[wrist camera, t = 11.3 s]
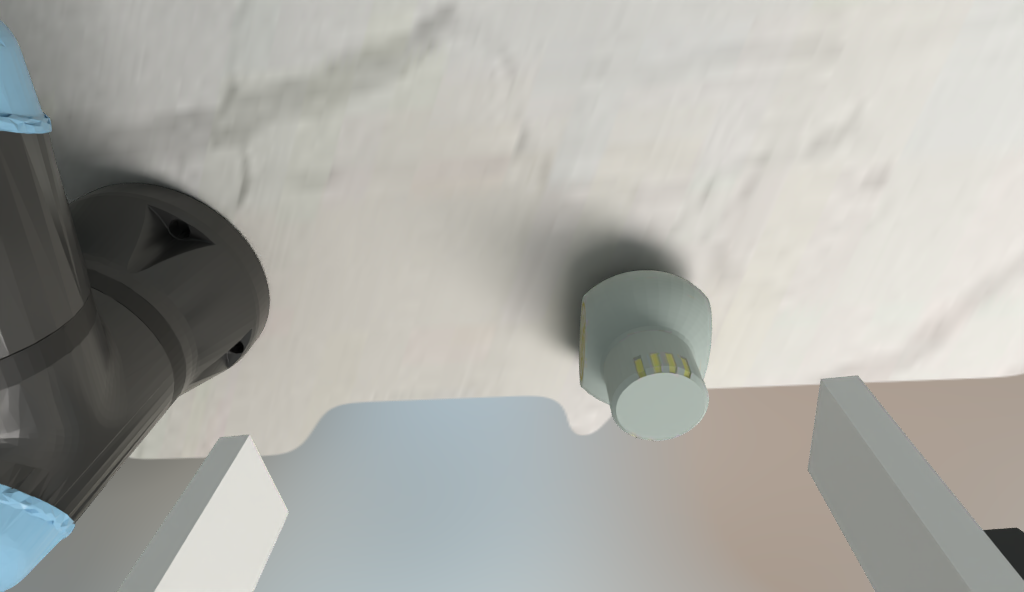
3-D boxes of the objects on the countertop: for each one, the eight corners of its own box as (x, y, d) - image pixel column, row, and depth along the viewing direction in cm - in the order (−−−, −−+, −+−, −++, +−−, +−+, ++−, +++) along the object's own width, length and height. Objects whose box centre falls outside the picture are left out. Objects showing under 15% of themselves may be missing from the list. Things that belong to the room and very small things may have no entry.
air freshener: (680, 377, 45) (715, 474, 37) (576, 377, 46) (586, 472, 37) (700, 254, 40) (747, 332, 31) (582, 254, 40) (596, 331, 32)
